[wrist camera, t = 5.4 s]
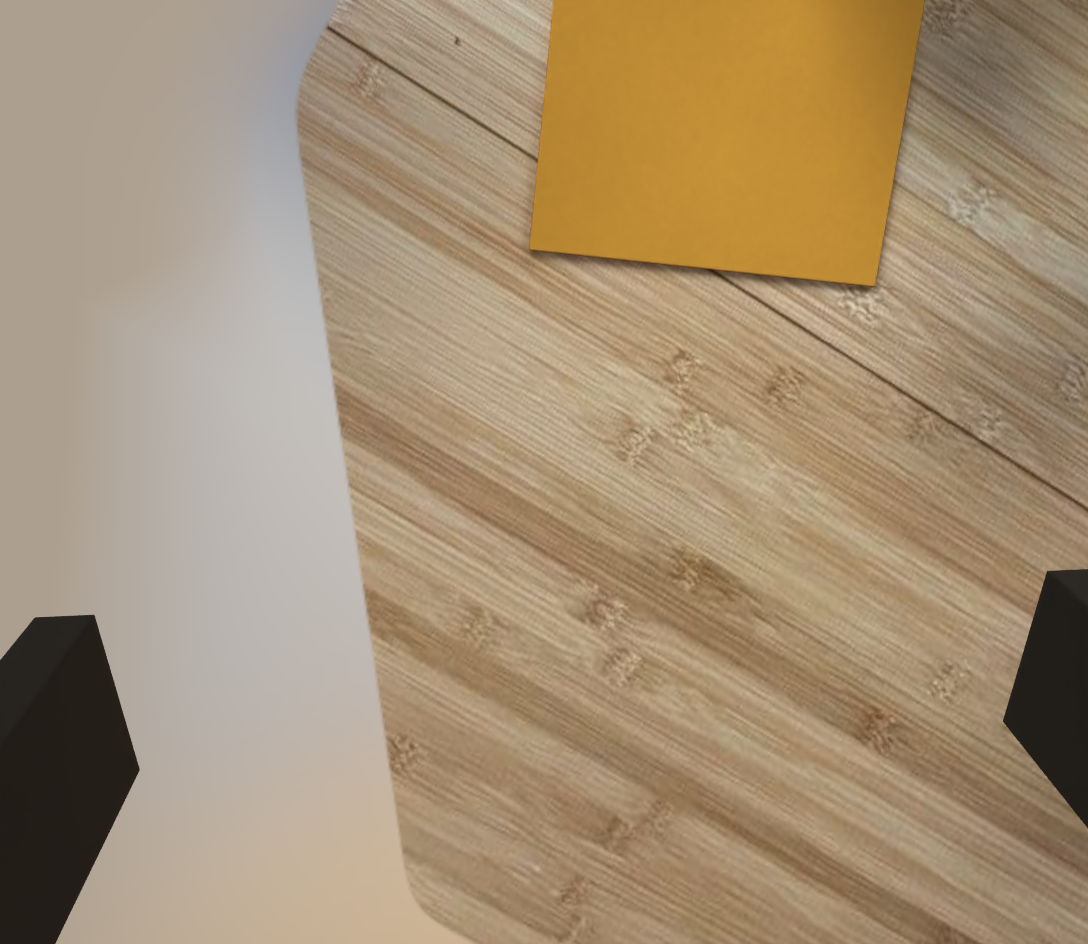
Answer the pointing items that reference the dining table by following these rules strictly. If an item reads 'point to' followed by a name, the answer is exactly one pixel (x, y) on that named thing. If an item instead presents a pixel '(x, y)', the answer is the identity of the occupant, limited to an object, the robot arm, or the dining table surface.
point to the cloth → (725, 133)
